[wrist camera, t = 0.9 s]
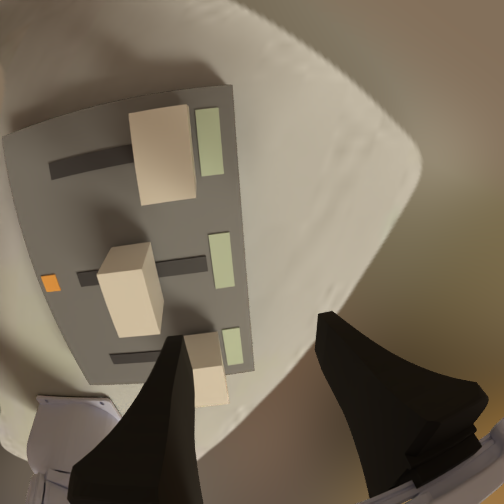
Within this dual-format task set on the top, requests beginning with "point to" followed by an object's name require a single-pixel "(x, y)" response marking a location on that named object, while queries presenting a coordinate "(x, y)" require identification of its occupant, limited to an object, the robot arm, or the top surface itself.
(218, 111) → the breaker panel
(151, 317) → the breaker
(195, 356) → the block
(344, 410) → the robot arm
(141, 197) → the block
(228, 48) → the top surface
